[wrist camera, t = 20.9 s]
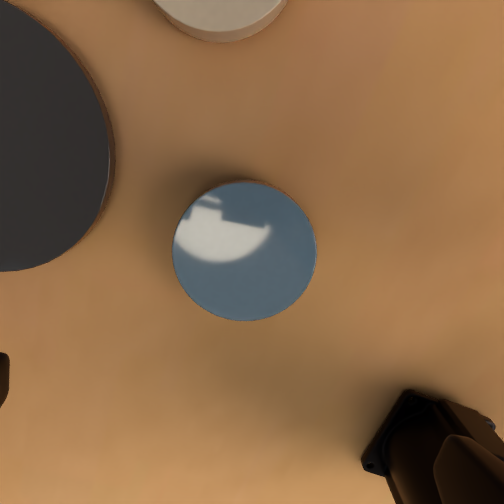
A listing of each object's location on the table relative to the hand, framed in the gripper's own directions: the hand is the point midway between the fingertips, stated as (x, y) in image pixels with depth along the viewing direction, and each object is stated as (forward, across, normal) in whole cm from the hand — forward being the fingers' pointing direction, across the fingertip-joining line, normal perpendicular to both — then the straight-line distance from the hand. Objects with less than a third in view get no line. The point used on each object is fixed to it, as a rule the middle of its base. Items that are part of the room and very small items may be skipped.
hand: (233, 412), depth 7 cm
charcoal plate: (+13, +14, -2) cm, 19 cm away
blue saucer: (+13, 0, 0) cm, 13 cm away
